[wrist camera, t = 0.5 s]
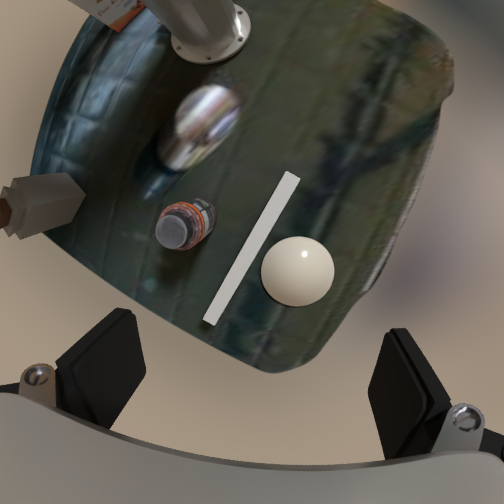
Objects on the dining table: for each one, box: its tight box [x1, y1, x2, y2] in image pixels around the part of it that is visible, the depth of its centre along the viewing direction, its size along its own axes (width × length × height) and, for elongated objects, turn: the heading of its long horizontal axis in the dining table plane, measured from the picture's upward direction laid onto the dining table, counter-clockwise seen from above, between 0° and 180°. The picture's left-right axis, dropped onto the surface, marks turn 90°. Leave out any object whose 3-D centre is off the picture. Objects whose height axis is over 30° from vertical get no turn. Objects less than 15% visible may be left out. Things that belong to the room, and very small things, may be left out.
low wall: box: [203, 171, 300, 326], centre depth 39 cm, size 2×24×5 cm, turn 151°
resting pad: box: [261, 236, 334, 306], centre depth 42 cm, size 11×11×1 cm
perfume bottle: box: [0, 172, 86, 240], centre depth 35 cm, size 7×7×18 cm
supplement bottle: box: [155, 197, 217, 251], centre depth 36 cm, size 6×6×11 cm
